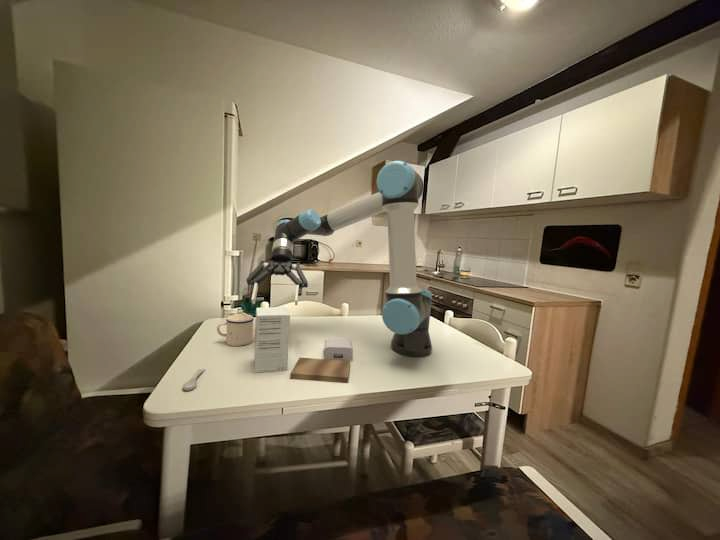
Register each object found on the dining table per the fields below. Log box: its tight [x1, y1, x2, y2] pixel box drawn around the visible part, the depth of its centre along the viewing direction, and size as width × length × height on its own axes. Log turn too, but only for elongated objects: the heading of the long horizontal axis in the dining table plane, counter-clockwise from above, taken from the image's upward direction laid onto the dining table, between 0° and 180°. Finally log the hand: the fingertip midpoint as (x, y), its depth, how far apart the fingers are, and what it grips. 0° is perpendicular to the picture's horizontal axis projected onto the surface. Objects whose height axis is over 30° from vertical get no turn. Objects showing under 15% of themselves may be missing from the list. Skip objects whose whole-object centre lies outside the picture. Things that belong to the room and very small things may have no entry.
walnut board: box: [289, 357, 351, 384], centre depth 86 cm, size 16×11×2 cm
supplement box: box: [253, 306, 291, 374], centre depth 87 cm, size 10×9×17 cm
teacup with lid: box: [216, 309, 254, 347], centre depth 103 cm, size 12×9×12 cm
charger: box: [323, 337, 354, 362], centre depth 101 cm, size 5×9×15 cm
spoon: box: [182, 368, 206, 392], centre depth 76 cm, size 3×12×2 cm, turn 13°
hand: (274, 302), depth 95 cm, fingers open, 13 cm apart
